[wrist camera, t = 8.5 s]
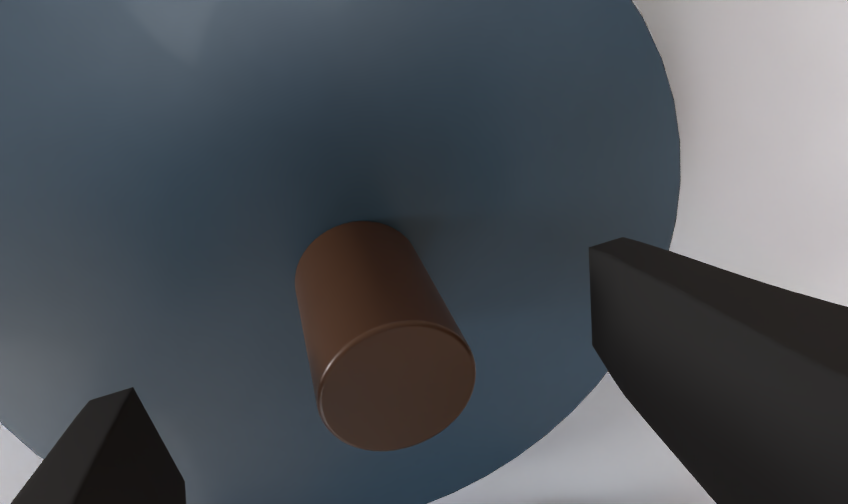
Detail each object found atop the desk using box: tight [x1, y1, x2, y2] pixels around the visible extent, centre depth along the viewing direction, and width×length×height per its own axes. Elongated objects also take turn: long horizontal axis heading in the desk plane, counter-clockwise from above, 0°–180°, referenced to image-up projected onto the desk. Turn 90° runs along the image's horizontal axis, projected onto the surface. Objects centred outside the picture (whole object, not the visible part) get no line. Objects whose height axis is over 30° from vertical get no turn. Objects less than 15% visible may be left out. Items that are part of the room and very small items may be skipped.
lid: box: [0, 0, 680, 504], centre depth 11 cm, size 14×14×4 cm
